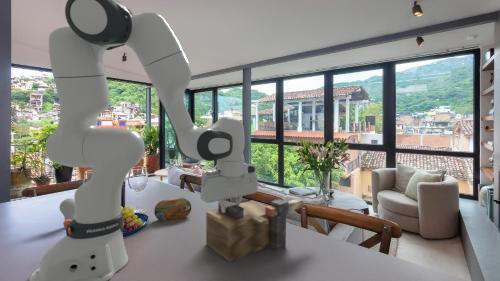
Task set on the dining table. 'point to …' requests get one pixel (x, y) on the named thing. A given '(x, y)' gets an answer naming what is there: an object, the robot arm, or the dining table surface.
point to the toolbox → (248, 234)
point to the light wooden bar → (292, 206)
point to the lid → (240, 214)
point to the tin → (172, 209)
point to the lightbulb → (68, 208)
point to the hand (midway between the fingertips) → (230, 210)
